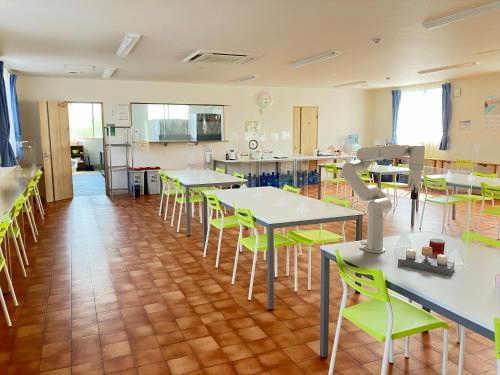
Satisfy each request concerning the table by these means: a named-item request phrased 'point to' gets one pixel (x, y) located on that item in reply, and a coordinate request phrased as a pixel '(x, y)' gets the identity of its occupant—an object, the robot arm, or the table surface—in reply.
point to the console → (426, 265)
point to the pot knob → (426, 252)
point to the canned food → (437, 247)
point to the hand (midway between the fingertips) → (413, 199)
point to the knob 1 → (411, 253)
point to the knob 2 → (442, 259)
